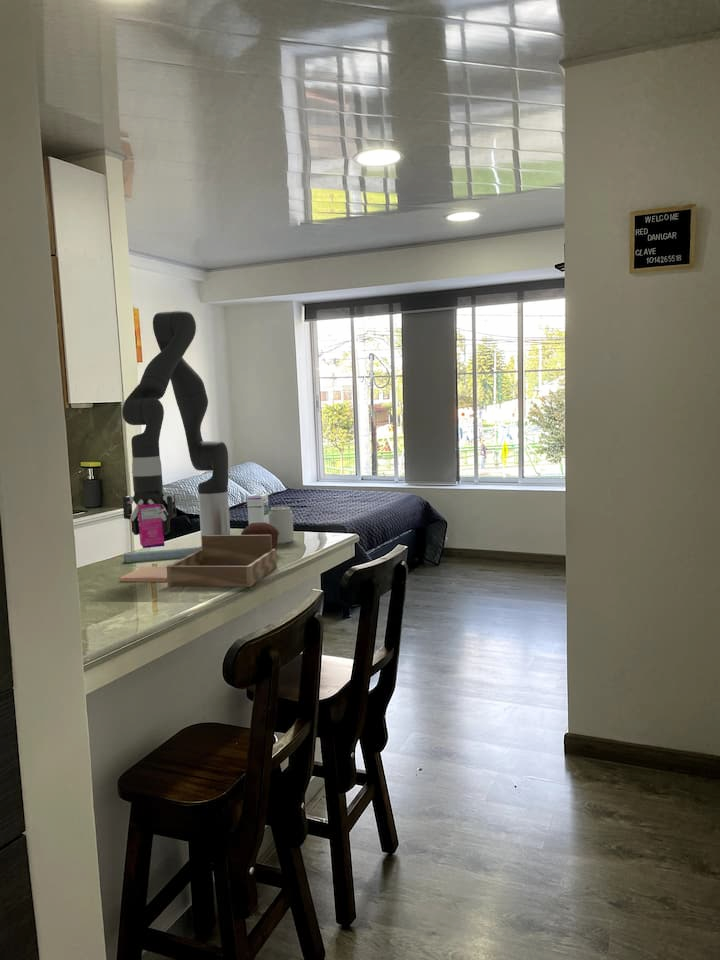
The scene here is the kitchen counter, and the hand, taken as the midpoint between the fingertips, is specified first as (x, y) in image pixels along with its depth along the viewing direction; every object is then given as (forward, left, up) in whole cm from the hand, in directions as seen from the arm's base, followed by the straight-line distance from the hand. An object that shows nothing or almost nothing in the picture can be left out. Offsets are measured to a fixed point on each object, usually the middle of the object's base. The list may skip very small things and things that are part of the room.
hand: (151, 534), depth 199 cm
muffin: (-25, +22, -12) cm, 35 cm away
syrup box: (-58, +11, -12) cm, 60 cm away
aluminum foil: (-19, -6, -12) cm, 23 cm away
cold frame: (0, +20, -11) cm, 23 cm away
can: (-44, +23, -12) cm, 51 cm away
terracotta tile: (0, 0, -11) cm, 11 cm away
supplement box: (0, 0, -3) cm, 3 cm away
